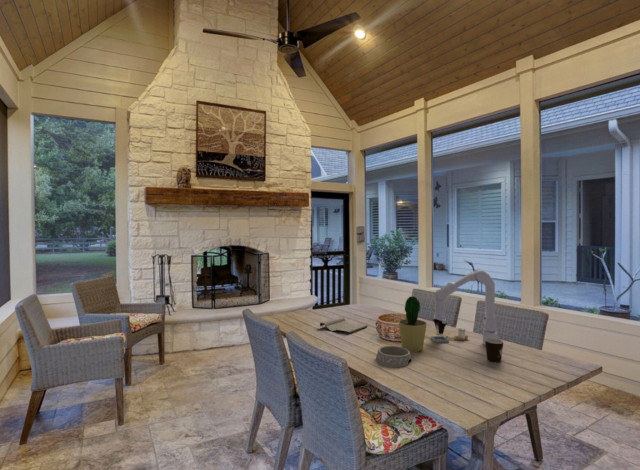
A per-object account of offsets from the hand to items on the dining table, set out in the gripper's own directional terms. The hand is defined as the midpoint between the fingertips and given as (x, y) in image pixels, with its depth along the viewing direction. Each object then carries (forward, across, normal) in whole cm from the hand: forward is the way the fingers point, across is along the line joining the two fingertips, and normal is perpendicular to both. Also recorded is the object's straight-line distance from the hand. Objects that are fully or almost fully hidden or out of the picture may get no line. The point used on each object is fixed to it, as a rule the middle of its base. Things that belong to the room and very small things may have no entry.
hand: (439, 332), depth 224 cm
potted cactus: (+6, +10, -20) cm, 23 cm away
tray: (+6, 0, 0) cm, 6 cm away
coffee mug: (+6, +30, +18) cm, 36 cm away
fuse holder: (+6, -2, +11) cm, 13 cm away
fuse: (+5, -2, +14) cm, 16 cm away
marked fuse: (+1, 0, 0) cm, 1 cm away
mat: (+6, -32, -54) cm, 63 cm away
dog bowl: (+6, +29, -34) cm, 45 cm away
